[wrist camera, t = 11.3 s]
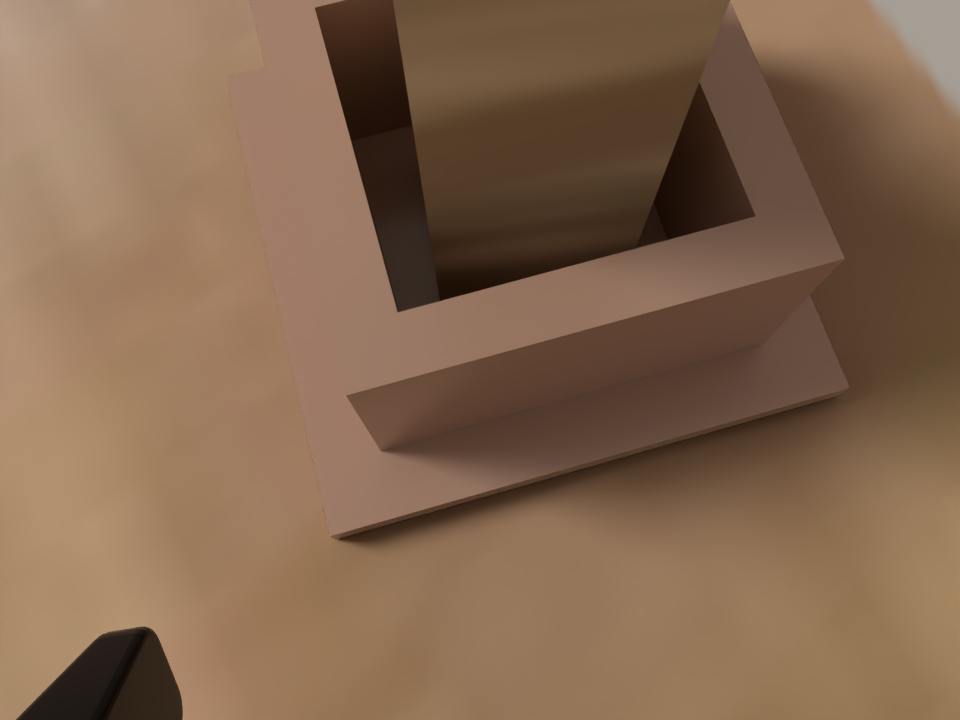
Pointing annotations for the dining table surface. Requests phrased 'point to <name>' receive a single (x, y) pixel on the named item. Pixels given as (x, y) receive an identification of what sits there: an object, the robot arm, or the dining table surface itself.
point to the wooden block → (545, 125)
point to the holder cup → (517, 284)
